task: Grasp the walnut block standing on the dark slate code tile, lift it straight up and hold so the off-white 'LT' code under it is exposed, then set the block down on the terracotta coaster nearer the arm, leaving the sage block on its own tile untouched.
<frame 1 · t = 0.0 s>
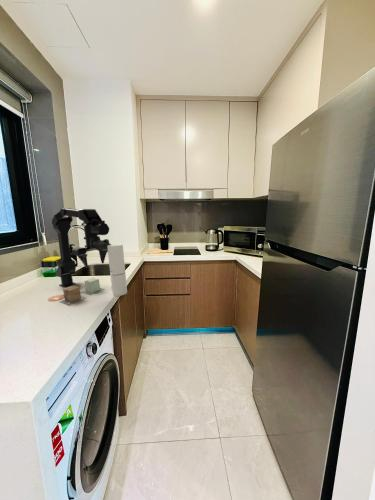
hand: (95, 265, 103), 15 cm above the countertop, fingers open, 9 cm apart
sage block: (93, 290, 108), resting on code tile HI
walnut block: (73, 299, 97), resting on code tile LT
code tile HI: (93, 291, 108), on the countertop
tall white block: (120, 293, 103), on the countertop
coaster: (57, 298, 100), on the countertop
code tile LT: (73, 300, 97), on the countertop
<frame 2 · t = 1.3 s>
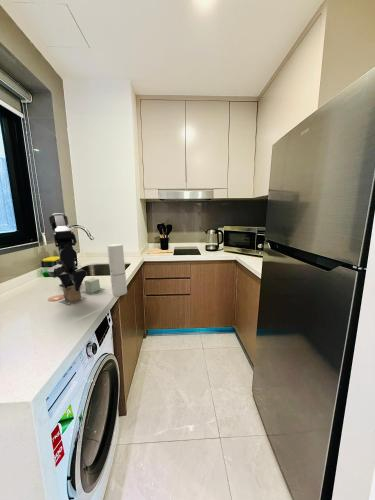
hand: (71, 289, 96), 5 cm above the countertop, fingers open, 9 cm apart
nothing on the countertop moved.
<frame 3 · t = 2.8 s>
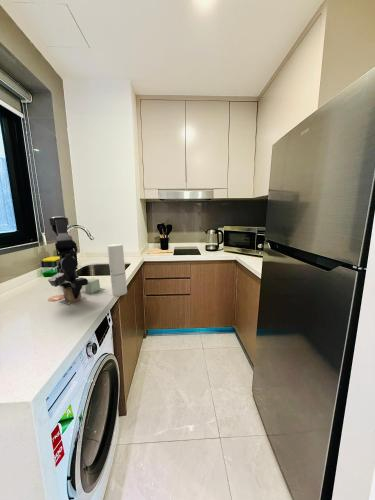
hand: (72, 297, 96), 1 cm above the countertop, fingers closed on walnut block, 5 cm apart
walnut block: (73, 299, 97), resting on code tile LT, touching gripper
everything else where it was.
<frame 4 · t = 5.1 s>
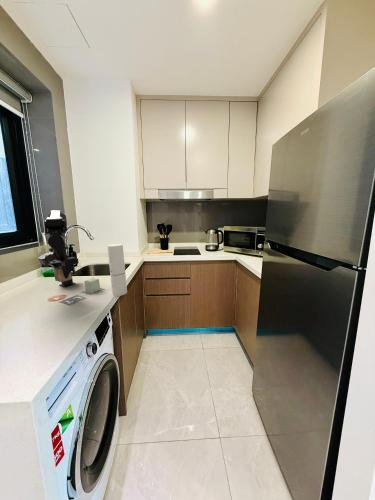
hand: (63, 277, 97), 11 cm above the countertop, fingers closed on walnut block, 5 cm apart
walnut block: (63, 279, 97), point 10 cm above the countertop, touching gripper
everything else where it was.
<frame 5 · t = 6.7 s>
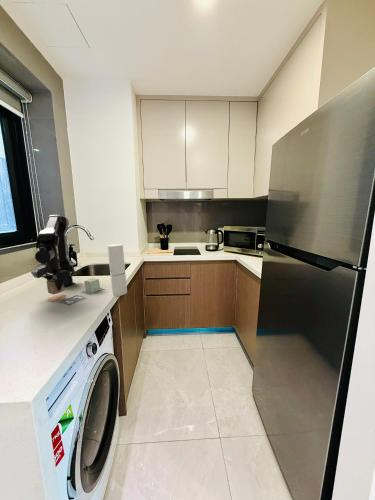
hand: (56, 289, 99), 5 cm above the countertop, fingers closed on walnut block, 5 cm apart
walnut block: (56, 291, 99), point 3 cm above the countertop, touching gripper
everything else where it was.
when the fingers open (3 cm above the countertop, at t = 7.8 s): walnut block drops 2 cm, resting on coaster.
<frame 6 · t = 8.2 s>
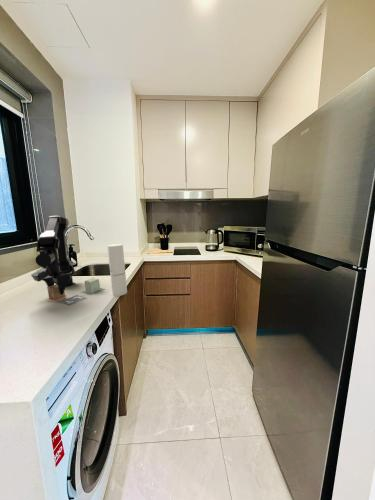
hand: (56, 292, 100), 3 cm above the countertop, fingers open, 9 cm apart
walnut block: (57, 297, 100), resting on coaster
everything else where it was.
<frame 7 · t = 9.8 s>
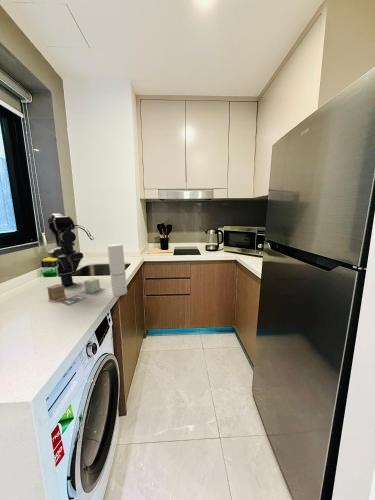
hand: (70, 270, 106), 12 cm above the countertop, fingers open, 9 cm apart
nothing on the countertop moved.
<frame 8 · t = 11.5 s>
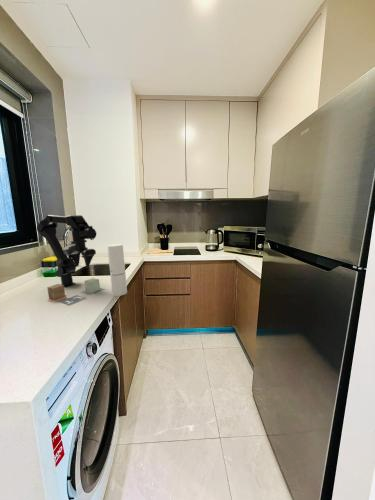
hand: (82, 266, 113), 12 cm above the countertop, fingers open, 9 cm apart
nothing on the countertop moved.
at the end: walnut block inside the target area on the coaster (0.1 cm from its centre), point 0.4 cm above the coaster's base; walnut block tilted 0°; walnut block touching coaster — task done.
